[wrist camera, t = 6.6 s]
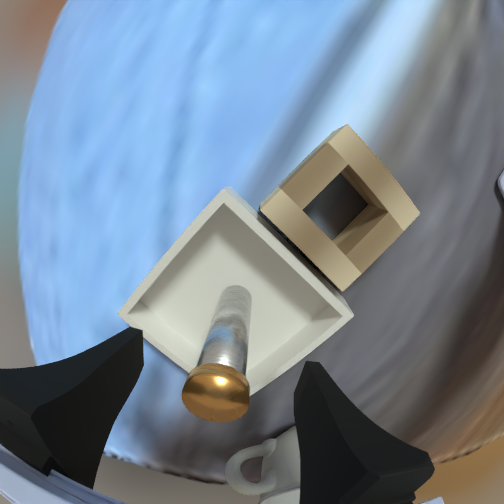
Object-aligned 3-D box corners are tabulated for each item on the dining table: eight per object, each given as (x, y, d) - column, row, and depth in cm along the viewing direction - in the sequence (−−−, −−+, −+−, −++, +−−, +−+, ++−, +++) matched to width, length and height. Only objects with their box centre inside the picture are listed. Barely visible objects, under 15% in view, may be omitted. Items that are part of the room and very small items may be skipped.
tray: (343, 297, 18) (354, 315, 15) (238, 382, 20) (236, 404, 17) (228, 185, 16) (223, 188, 13) (132, 297, 18) (117, 313, 16)
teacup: (391, 421, 21) (415, 482, 14) (313, 471, 24) (319, 527, 16) (289, 366, 19) (298, 455, 12) (208, 430, 22) (194, 501, 14)
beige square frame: (396, 205, 16) (420, 213, 13) (329, 272, 17) (342, 292, 14) (332, 131, 15) (347, 123, 12) (260, 203, 16) (260, 210, 13)
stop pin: (263, 295, 17) (262, 397, 9) (241, 323, 18) (226, 429, 9) (229, 274, 17) (200, 366, 8) (209, 304, 17) (171, 403, 9)
